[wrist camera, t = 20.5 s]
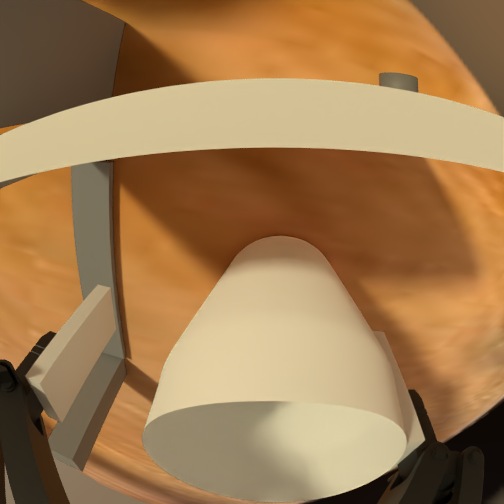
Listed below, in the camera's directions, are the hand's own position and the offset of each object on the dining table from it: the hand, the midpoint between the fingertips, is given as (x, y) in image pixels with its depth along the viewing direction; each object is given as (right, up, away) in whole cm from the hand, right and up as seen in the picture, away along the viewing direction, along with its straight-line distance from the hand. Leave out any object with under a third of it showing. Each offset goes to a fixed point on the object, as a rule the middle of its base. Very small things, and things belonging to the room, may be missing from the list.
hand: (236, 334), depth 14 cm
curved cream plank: (+1, +11, -1) cm, 11 cm away
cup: (+3, +2, +5) cm, 6 cm away
